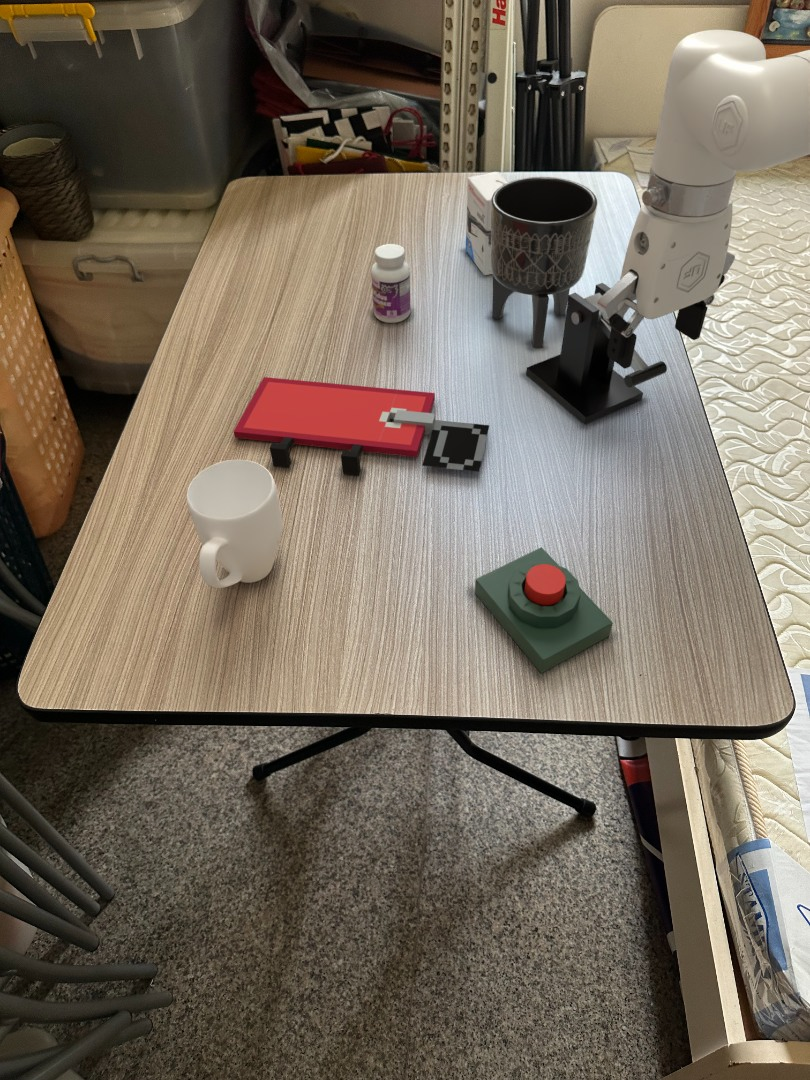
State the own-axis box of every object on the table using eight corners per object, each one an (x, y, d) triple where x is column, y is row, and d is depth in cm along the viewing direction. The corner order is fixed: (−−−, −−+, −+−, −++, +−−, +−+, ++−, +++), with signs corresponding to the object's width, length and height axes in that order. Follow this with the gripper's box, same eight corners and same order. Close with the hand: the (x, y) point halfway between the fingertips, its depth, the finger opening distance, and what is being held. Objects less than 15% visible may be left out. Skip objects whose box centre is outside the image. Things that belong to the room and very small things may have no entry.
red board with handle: (476, 489, 87) (494, 407, 97) (477, 470, 85) (495, 389, 95) (224, 460, 92) (265, 386, 102) (219, 442, 90) (262, 367, 100)
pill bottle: (366, 318, 112) (362, 255, 104) (384, 300, 115) (381, 237, 108) (400, 327, 110) (397, 264, 103) (417, 309, 113) (416, 245, 106)
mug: (228, 532, 85) (204, 453, 76) (301, 542, 83) (286, 463, 75) (185, 621, 77) (153, 544, 68) (265, 634, 75) (243, 557, 67)
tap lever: (661, 378, 90) (670, 365, 88) (628, 392, 88) (636, 379, 86) (601, 303, 94) (609, 288, 92) (568, 315, 92) (575, 301, 90)
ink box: (463, 250, 124) (465, 175, 115) (493, 245, 125) (497, 169, 116) (483, 276, 118) (487, 199, 110) (513, 270, 119) (520, 193, 110)
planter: (538, 290, 115) (551, 167, 102) (597, 331, 108) (620, 203, 95) (466, 318, 111) (470, 193, 98) (523, 362, 103) (536, 234, 90)
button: (571, 595, 73) (573, 583, 72) (540, 611, 72) (542, 600, 70) (547, 570, 75) (549, 558, 74) (517, 585, 74) (518, 573, 72)
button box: (609, 636, 74) (616, 610, 71) (541, 673, 72) (545, 649, 69) (539, 560, 81) (543, 534, 78) (474, 592, 78) (475, 567, 75)
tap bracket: (641, 400, 97) (663, 309, 88) (584, 425, 95) (600, 333, 85) (580, 353, 105) (594, 264, 95) (525, 374, 102) (534, 285, 92)
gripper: (644, 229, 68) (613, 391, 80) (786, 180, 73) (736, 339, 86) (589, 198, 72) (568, 356, 85) (726, 154, 78) (687, 308, 90)
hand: (652, 347), depth 85 cm, fingers open, 9 cm apart
